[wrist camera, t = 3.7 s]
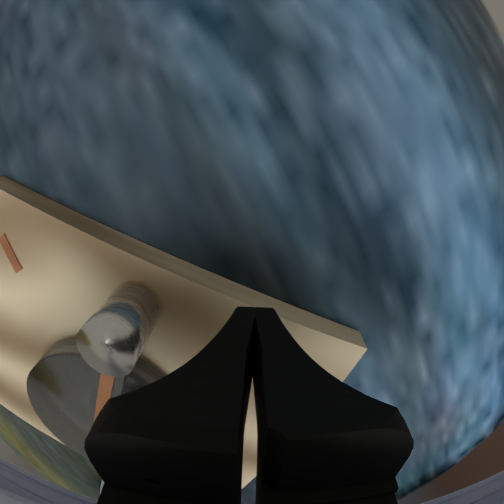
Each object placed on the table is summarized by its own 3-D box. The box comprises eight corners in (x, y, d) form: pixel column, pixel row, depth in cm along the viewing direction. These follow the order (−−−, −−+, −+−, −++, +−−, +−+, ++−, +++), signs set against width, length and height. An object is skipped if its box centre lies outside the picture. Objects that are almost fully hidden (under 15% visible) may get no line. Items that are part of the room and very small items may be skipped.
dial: (169, 466, 16) (160, 505, 13) (45, 409, 15) (25, 441, 12) (246, 328, 12) (242, 382, 9) (52, 240, 11) (5, 268, 8)
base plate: (225, 489, 20) (224, 504, 18) (6, 390, 18) (-4, 402, 16) (359, 331, 14) (368, 350, 13) (3, 176, 12) (-17, 181, 11)
